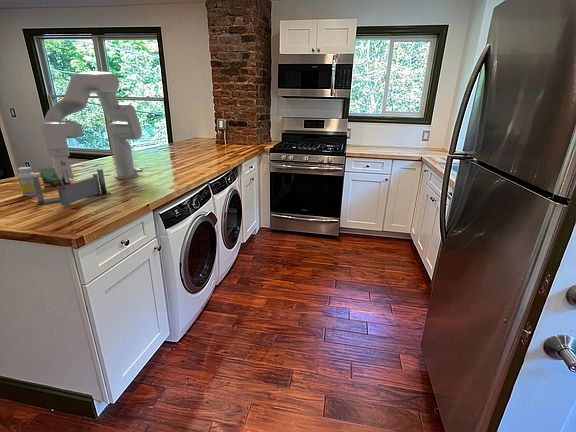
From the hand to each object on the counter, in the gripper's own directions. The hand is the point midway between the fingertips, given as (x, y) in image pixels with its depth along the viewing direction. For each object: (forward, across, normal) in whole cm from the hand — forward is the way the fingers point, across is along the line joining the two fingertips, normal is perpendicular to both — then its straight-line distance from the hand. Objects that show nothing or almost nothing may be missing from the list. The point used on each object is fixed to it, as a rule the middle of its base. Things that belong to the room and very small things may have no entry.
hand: (68, 193), depth 136 cm
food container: (+4, +35, 0) cm, 36 cm away
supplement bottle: (+4, +23, +11) cm, 26 cm away
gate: (+3, -1, -5) cm, 6 cm away
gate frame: (+4, +5, -3) cm, 7 cm away
